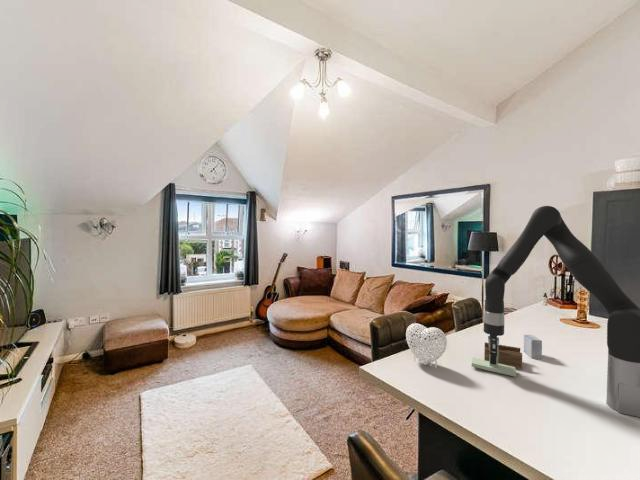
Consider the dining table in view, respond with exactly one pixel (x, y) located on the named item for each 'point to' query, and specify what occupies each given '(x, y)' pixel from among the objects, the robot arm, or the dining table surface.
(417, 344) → the decorative heart
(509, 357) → the box
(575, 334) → the dining table surface
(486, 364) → the lid
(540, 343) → the medicine box
